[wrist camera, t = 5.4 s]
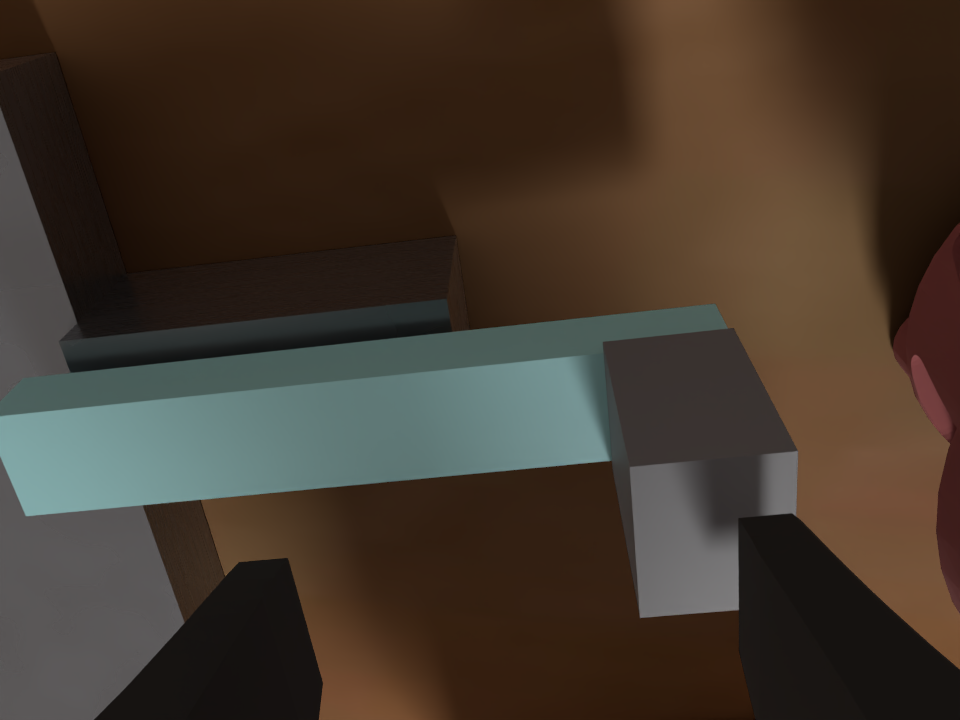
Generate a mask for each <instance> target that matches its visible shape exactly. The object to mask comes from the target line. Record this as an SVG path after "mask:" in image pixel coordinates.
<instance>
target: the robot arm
mask: <svg viewBox="0 0 960 720" xmlns="http://www.w3.org/2000/svg"><path fill="white" fill-rule="evenodd" d="M738 563H739V653H740V657H741V661H742V666H743V670H744V674H745V678H746V683H747V687H748V691H749V695H750V699H751V703H752V707H753V711H754V715H755V719H756V720H960V669H958V668H957V667H956V666H955V665H954V664H953V663H951V662H950V661H949V660H948V659H947V658H946V657H944V656H943V655H942V654H941V653H940V652H939V651H937V650H936V649H935V648H934V647H933V646H931V645H930V644H929V643H928V642H927V641H926V640H925V639H924V638H923V637H921V636H920V635H919V634H918V633H917V632H916V631H915V630H914V629H913V628H911V627H910V626H909V625H908V624H907V623H906V622H905V621H904V620H903V619H901V618H900V617H899V616H898V615H897V614H896V613H895V612H894V611H893V610H891V609H890V608H889V607H888V606H887V605H886V604H885V603H884V602H883V601H882V600H881V599H880V598H879V597H878V596H876V595H875V594H874V593H873V592H872V591H871V590H870V589H869V588H868V587H867V586H866V585H865V584H864V583H863V582H862V581H861V580H860V579H859V578H858V577H857V576H856V575H855V574H854V573H853V572H852V571H851V570H850V569H849V568H847V567H846V566H845V565H844V564H843V563H842V562H841V561H840V560H839V559H838V558H837V557H836V556H835V555H834V554H833V553H832V552H831V551H830V550H829V548H828V547H827V546H826V545H825V544H824V543H823V542H822V541H821V540H820V539H819V538H818V537H817V536H816V535H815V534H814V533H813V532H812V531H811V530H810V529H809V528H808V527H807V526H806V525H805V524H804V523H803V522H802V521H801V520H800V519H799V518H797V517H796V516H795V515H794V514H793V513H788V514H777V515H766V516H755V517H743V518H738ZM322 686H323V682H322V678H321V675H320V671H319V668H318V664H317V660H316V657H315V653H314V650H313V646H312V643H311V639H310V635H309V632H308V628H307V625H306V621H305V618H304V614H303V611H302V607H301V603H300V600H299V596H298V593H297V589H296V586H295V582H294V578H293V575H292V571H291V568H290V564H289V561H288V558H282V559H271V560H260V561H249V562H239V563H238V564H237V565H236V566H235V567H234V568H233V569H232V570H231V571H230V572H229V573H228V574H227V576H226V577H225V578H224V579H223V580H222V581H221V582H220V583H219V584H218V586H217V587H216V588H215V589H214V590H213V591H212V592H211V593H210V595H209V596H208V597H207V598H206V599H205V600H204V601H203V603H202V604H201V605H200V606H199V607H198V608H197V609H196V610H195V612H194V613H193V614H192V615H191V616H190V617H189V618H188V620H187V621H186V622H185V623H184V624H183V625H182V626H181V627H180V629H179V630H178V631H177V632H176V633H175V634H174V635H173V636H172V638H171V639H170V640H169V641H168V642H167V643H166V644H165V645H164V646H163V647H162V648H161V650H160V651H159V652H158V653H157V654H156V655H155V656H154V657H153V658H152V659H151V661H150V662H149V663H148V664H147V665H146V666H145V667H144V668H143V669H142V670H141V671H140V673H139V674H138V675H137V676H136V677H135V678H134V679H133V680H132V681H131V682H130V684H129V685H128V686H127V687H126V688H125V689H124V690H123V691H122V692H121V693H120V694H119V695H118V696H117V697H116V698H115V699H114V700H113V701H112V702H111V703H110V704H109V705H108V706H107V707H106V708H105V709H104V710H103V711H102V712H101V713H100V714H99V715H98V716H97V717H96V718H95V719H94V720H319V712H320V703H321V695H322Z"/></svg>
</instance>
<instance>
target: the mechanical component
mask: <svg viewBox="0 0 960 720" xmlns="http://www.w3.org/2000/svg"><path fill="white" fill-rule="evenodd" d="M893 351H894V356H895V359H896V360H897V362H898V363H899V365H900V366H901V368H902V369H903V370H904V371H905V372H906V374H907V375H908V376H909V377H910V380H911V384H912V387H913V390H914V393H915V396H916V398H917V400H918V402H919V403H920V405H921V407H922V409H923V410H924V412H925V414H926V415H927V417H928V419H929V420H930V421H931V422H932V424H933V425H934V426H935V427H936V429H937V430H938V431H939V432H940V433H941V434H942V436H943V437H944V438H945V439H946V440H947V441H948V442H949V443H950V447H949V449H948V453H947V457H946V462H945V466H944V470H943V474H942V479H941V483H940V487H939V492H938V508H937V526H936V534H937V541H938V549H939V557H940V564H941V570H942V572H943V575H944V578H945V581H946V584H947V587H948V590H949V593H950V596H951V599H952V602H953V603H954V605H955V607H956V608H957V610H958V612H959V613H960V223H959V224H958V225H957V226H956V227H955V228H954V229H953V231H952V232H951V233H950V235H949V236H948V237H947V239H946V240H945V242H944V243H943V244H942V246H941V247H940V248H939V250H938V251H937V253H936V254H935V255H934V257H933V259H932V261H931V263H930V265H929V266H928V268H927V270H926V272H925V274H924V276H923V278H922V280H921V282H920V284H919V286H918V289H917V292H916V295H915V299H914V302H913V305H912V308H911V311H910V314H909V318H907V319H906V320H905V322H904V323H903V324H902V325H901V326H900V327H899V329H898V331H897V334H896V336H895V338H894V344H893Z"/></svg>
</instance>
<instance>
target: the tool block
mask: <svg viewBox="0 0 960 720" xmlns="http://www.w3.org/2000/svg"><path fill="white" fill-rule="evenodd" d="M466 330H470V326H469V320H468V313H467V306H466V299H465V293H464V286H463V279H462V272H461V266H460V259H459V252H458V246H457V239H456V235H455V236H446V237H438V238H429V239H421V240H412V241H403V242H395V243H386V244H377V245H369V246H360V247H352V248H343V249H334V250H326V251H317V252H309V253H300V254H291V255H283V256H274V257H266V258H257V259H248V260H240V261H231V262H222V263H214V264H205V265H197V266H188V267H179V268H171V269H162V270H154V271H145V272H136V273H128V274H127V273H126V270H125V267H124V264H123V261H122V258H121V255H120V251H119V248H118V245H117V242H116V239H115V236H114V233H113V230H112V227H111V224H110V220H109V217H108V214H107V211H106V208H105V205H104V202H103V199H102V196H101V193H100V189H99V186H98V183H97V180H96V177H95V174H94V171H93V168H92V165H91V162H90V158H89V155H88V152H87V149H86V146H85V143H84V140H83V137H82V134H81V131H80V127H79V124H78V121H77V118H76V115H75V112H74V109H73V106H72V103H71V100H70V97H69V93H68V90H67V87H66V84H65V81H64V78H63V75H62V72H61V69H60V66H59V62H58V59H57V56H56V53H55V52H53V53H45V54H38V55H31V56H24V57H16V58H9V59H2V60H0V401H1V400H2V399H3V398H4V397H5V396H6V395H7V394H8V393H9V392H10V391H11V390H12V389H13V388H14V387H15V386H16V385H17V384H18V383H19V382H20V381H21V380H22V379H23V378H29V377H39V376H48V375H57V374H67V373H76V372H85V371H94V370H104V369H113V368H122V367H132V366H141V365H150V364H159V363H169V362H178V361H187V360H197V359H206V358H215V357H225V356H234V355H243V354H252V353H262V352H271V351H280V350H290V349H299V348H308V347H317V346H327V345H336V344H345V343H355V342H364V341H373V340H382V339H392V338H401V337H410V336H420V335H429V334H438V333H448V332H457V331H466ZM224 578H225V577H224V574H223V571H222V567H221V564H220V561H219V558H218V555H217V552H216V549H215V546H214V543H213V540H212V536H211V533H210V530H209V527H208V524H207V521H206V518H205V515H204V512H203V509H202V506H201V502H200V500H192V501H182V502H171V503H161V504H150V505H140V506H129V507H119V508H108V509H98V510H87V511H76V512H66V513H55V514H45V515H34V516H26V515H25V513H24V511H23V508H22V506H21V504H20V501H19V499H18V497H17V494H16V492H15V490H14V487H13V485H12V483H11V480H10V478H9V476H8V473H7V471H6V469H5V466H4V464H3V462H2V459H1V457H0V720H94V719H95V718H96V717H97V716H98V715H99V714H100V713H101V712H102V711H103V710H104V709H105V708H106V707H107V706H108V705H109V704H110V703H111V702H112V701H113V700H114V699H115V698H116V697H117V696H118V695H119V694H120V693H121V692H122V691H123V690H124V689H125V688H126V687H127V686H128V685H129V684H130V682H131V681H132V680H133V679H134V678H135V677H136V676H137V675H138V674H139V673H140V671H141V670H142V669H143V668H144V667H145V666H146V665H147V664H148V663H149V662H150V661H151V659H152V658H153V657H154V656H155V655H156V654H157V653H158V652H159V651H160V650H161V648H162V647H163V646H164V645H165V644H166V643H167V642H168V641H169V640H170V639H171V638H172V636H173V635H174V634H175V633H176V632H177V631H178V630H179V629H180V627H181V626H182V625H183V624H184V623H185V622H186V621H187V620H188V618H189V617H190V616H191V615H192V614H193V613H194V612H195V610H196V609H197V608H198V607H199V606H200V605H201V604H202V603H203V601H204V600H205V599H206V598H207V597H208V596H209V595H210V593H211V592H212V591H213V590H214V589H215V588H216V587H217V586H218V584H219V583H220V582H221V581H222V580H223V579H224Z"/></svg>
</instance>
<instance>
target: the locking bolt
mask: <svg viewBox="0 0 960 720" xmlns="http://www.w3.org/2000/svg"><path fill="white" fill-rule="evenodd" d="M0 457H1V459H2V462H3V464H4V466H5V469H6V471H7V473H8V476H9V478H10V480H11V483H12V485H13V487H14V490H15V492H16V494H17V497H18V499H19V501H20V504H21V506H22V508H23V511H24V513H25V515H26V516H34V515H45V514H55V513H66V512H76V511H87V510H98V509H108V508H119V507H129V506H140V505H150V504H161V503H171V502H182V501H192V500H203V499H213V498H224V497H235V496H245V495H256V494H266V493H277V492H287V491H298V490H308V489H319V488H329V487H340V486H350V485H361V484H372V483H382V482H393V481H403V480H414V479H424V478H435V477H445V476H456V475H466V474H477V473H487V472H498V471H508V470H519V469H530V468H540V467H551V466H561V465H572V464H582V463H593V462H603V461H612V467H613V475H614V480H615V486H616V491H617V496H618V502H619V507H620V513H621V518H622V523H623V529H624V534H625V540H626V545H627V550H628V556H629V561H630V567H631V572H632V578H633V583H634V588H635V594H636V599H637V605H638V610H639V615H640V618H645V617H658V616H670V615H683V614H695V613H707V612H720V611H732V610H739V563H738V518H743V517H755V516H766V515H777V514H788V513H793V514H794V515H795V516H796V500H797V465H798V450H797V448H796V447H795V445H794V443H793V441H792V439H791V437H790V435H789V433H788V431H787V429H786V427H785V426H784V424H783V422H782V420H781V418H780V416H779V414H778V412H777V410H776V408H775V406H774V405H773V403H772V401H771V399H770V397H769V395H768V393H767V391H766V389H765V387H764V385H763V384H762V382H761V380H760V378H759V376H758V374H757V372H756V370H755V368H754V366H753V364H752V363H751V361H750V359H749V357H748V355H747V353H746V351H745V349H744V347H743V345H742V343H741V342H740V340H739V338H738V336H737V334H736V332H735V330H734V328H729V329H728V328H727V326H726V324H725V322H724V320H723V318H722V316H721V314H720V312H719V310H718V308H717V306H716V304H708V305H698V306H689V307H680V308H670V309H661V310H652V311H643V312H633V313H624V314H615V315H605V316H596V317H587V318H578V319H568V320H559V321H550V322H540V323H531V324H522V325H513V326H503V327H494V328H485V329H475V330H466V331H457V332H448V333H438V334H429V335H420V336H410V337H401V338H392V339H382V340H373V341H364V342H355V343H345V344H336V345H327V346H317V347H308V348H299V349H290V350H280V351H271V352H262V353H252V354H243V355H234V356H225V357H215V358H206V359H197V360H187V361H178V362H169V363H159V364H150V365H141V366H132V367H122V368H113V369H104V370H94V371H85V372H76V373H67V374H57V375H48V376H39V377H29V378H23V379H22V380H21V381H20V382H19V383H18V384H17V385H16V386H15V387H14V388H13V389H12V390H11V391H10V392H9V393H8V394H7V395H6V396H5V397H4V398H3V399H2V400H1V401H0Z"/></svg>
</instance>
